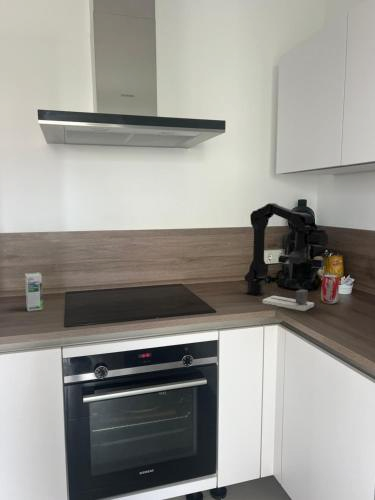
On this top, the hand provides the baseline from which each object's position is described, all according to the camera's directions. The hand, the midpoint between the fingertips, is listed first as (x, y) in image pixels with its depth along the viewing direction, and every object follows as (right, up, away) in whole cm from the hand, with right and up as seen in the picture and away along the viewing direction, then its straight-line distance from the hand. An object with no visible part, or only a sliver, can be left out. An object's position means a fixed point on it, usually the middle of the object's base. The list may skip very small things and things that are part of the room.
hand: (300, 281), depth 162 cm
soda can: (+15, -10, +8) cm, 20 cm away
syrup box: (-109, -11, -6) cm, 110 cm away
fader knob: (0, -9, 0) cm, 9 cm away
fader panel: (-4, -10, +4) cm, 12 cm away
